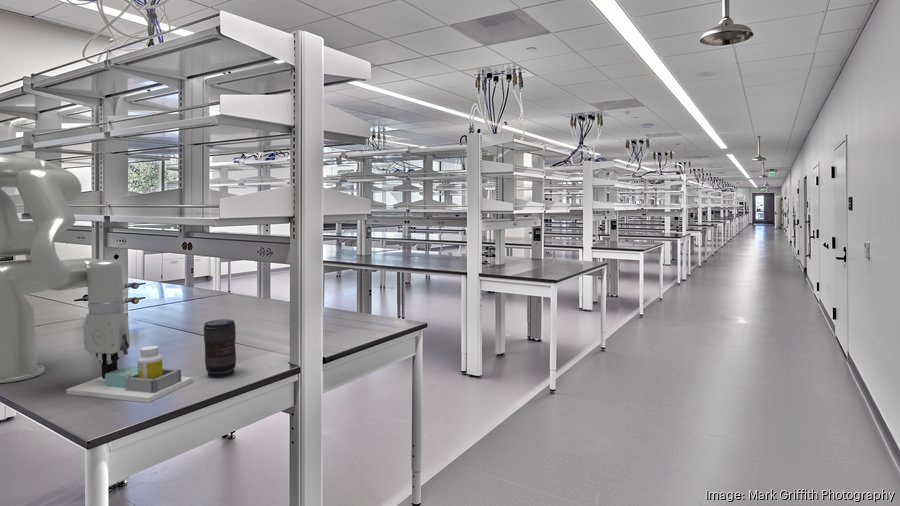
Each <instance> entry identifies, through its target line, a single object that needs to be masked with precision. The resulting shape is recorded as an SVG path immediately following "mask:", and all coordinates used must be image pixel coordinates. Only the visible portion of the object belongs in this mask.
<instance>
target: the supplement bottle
mask: <svg viewBox="0 0 900 506" xmlns="http://www.w3.org/2000/svg"><path fill="white" fill-rule="evenodd" d="M139 350H140V351H139V352H140V355H141V356H139V357H138V359H137V367H138V378H144V379H156V378H158V377H161V376H163V357H162V355H161V354H159V346H158V345H147V346H143V347H141V348H140V349H139Z"/></svg>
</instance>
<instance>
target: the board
mask: <svg viewBox="0 0 900 506" xmlns="http://www.w3.org/2000/svg"><path fill="white" fill-rule="evenodd" d="M162 368H163V367H162ZM193 382H194V377H192V376H191V377H190V376H182V369H179V368H178V369H176V368H166V367H165V368H163V376H161V377H158V378H156V379H144V378H133V377H131V371H127V372H125V387H116V386H106V385H105V379H103V378H102V376H99V377H96V378H94V379H91V380H88V381H85V382H83V383H80V384H77V385H74V386H72V387H68V388H67V389H65V392H66V393H65V394H66V395H72V396H83V397H92V398H101V399H102V398H103V399H109V400H110V399H111V400H121V401H131V402H139V403H147V404H148V403H151V402H153V401H155V400H157V399H159V398H161V397H163V396H166V395H168V394H170V393H172V392H175V391H176V390H179V389H181V388H182V387H185V386H187V385H190V384H192V383H193Z"/></svg>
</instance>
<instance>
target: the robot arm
mask: <svg viewBox="0 0 900 506" xmlns="http://www.w3.org/2000/svg"><path fill="white" fill-rule="evenodd" d="M3 187H4V188H6V187H7V188H16V189H17V191H18V194H19V196H20V197H21V200H22V202H23V204H24V206H25V208H26V210H27V211H28V214H29V216H30V218H31V220H20V218H19V215H18V211H17V206H16V204H15V201H14V200H13V199H12V198H11V196H10V195H9V194H7V192H6V191H5V190H3V189H2V188H3ZM81 193H82V184H81V182H80V180H79V178H78V177H77V176H76V175H75V174H74V173H72V172H71V171H70V170H67V169H65V168H64V167H61V166H59V165H55V164H53V163H51V162H49V161H46V160H44V159H41V158H37V157H30V156H29V157H28V156H18V155H11V154H10V155H9V154H3V153H2V154H0V257H1V258H2V257H13V256H15V257H16V256H17V257H18V256H24V257H25V259H17V260H9V261H0V384H3V383H4V384H5V383H13V382H19V381H24V380H28V379H31V378H35V377H39V376H40V375H42V374H44V373H45V371H46V368H45V366H43V365H40V364H38V353H37V340H36V339H37V338H36V337H37V335H36V322H35V321H36V320H35V319H36V318H35V310H34V308H33V306H32V304H31V302H30V301H28V299H27V298H26V297H25V295H29V294H36V293H43V292H47V291H57V292H58V291H59V292H61V291H68V290H75V289H81V288H87V301H88V302H87V307H88V313H87V314H86V316H85V319H84V320H85V321H84V328H83V329H84V331H83V346H84V350H85V351H86V352H88V353H89V354H90V355H93V356H96V358H97V359H98V363H99V364H101V365H100V366H101V377H102V378H103V379H105V374H106V373H109V372H112V371H115V370H117V369H119V368H118V362H119V361H120V359H121V358H123V357H126V356H128V354H129V352H128V349H130V345H131V338H130V337H131V335H130V328H129V322H128V318H127V315H126V312H125V305H124V304H125V303H124V302H125V301H124V286H123V284H124V283H123V267H122V263H121V262H120V261H119V260H116V259H98V258H94V257H84V258H73V259H72V258H71V259H63V260H61V259H60V258H59V256H58V254H57V250H56V246H55V241H54V240H55V237H56V236H57V235H58V234H61V233H63V232H65V231H67V230H69V229H71V228H72V227H73V226H74V225H75V224H76V217H75V215H74V213H73V211H72V209H71V207H70V205H69V203H68V202H73V201H76V200H77V199H79V197H80V196H81Z"/></svg>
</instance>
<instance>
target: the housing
mask: <svg viewBox="0 0 900 506" xmlns="http://www.w3.org/2000/svg"><path fill="white" fill-rule="evenodd" d="M127 371H131V377H133V378H138V366H127V365H126V366H124V367H120V368H118V369H117V370H115V371H112V372H109V373H106V374H105V385H106V386H116V387H125V372H127Z"/></svg>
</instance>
